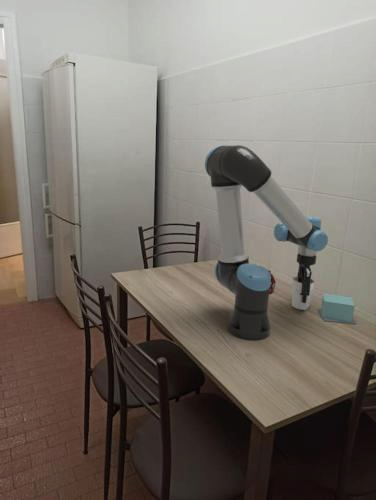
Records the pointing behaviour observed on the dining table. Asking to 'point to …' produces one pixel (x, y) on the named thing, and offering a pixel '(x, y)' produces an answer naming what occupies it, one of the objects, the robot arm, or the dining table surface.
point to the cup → (297, 290)
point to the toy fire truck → (272, 283)
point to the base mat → (335, 320)
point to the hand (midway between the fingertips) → (300, 304)
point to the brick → (337, 307)
